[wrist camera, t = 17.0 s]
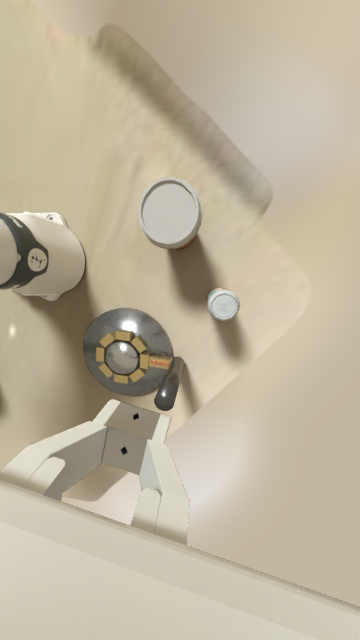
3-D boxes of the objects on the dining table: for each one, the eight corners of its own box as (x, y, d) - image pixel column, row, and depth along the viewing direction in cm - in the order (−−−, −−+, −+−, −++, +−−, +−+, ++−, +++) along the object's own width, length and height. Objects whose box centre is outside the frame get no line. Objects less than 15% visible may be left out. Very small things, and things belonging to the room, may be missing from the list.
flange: (81, 379, 48) (71, 387, 45) (91, 298, 44) (82, 299, 40) (161, 403, 47) (158, 413, 43) (181, 321, 42) (179, 324, 39)
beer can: (229, 311, 40) (239, 323, 29) (206, 310, 41) (207, 321, 29) (231, 287, 39) (242, 290, 28) (207, 287, 40) (208, 289, 28)
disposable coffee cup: (149, 247, 40) (126, 232, 28) (166, 198, 38) (148, 162, 26) (192, 264, 39) (186, 257, 28) (211, 216, 37) (213, 187, 26)
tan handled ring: (100, 374, 46) (55, 414, 32) (101, 326, 43) (52, 347, 29) (181, 388, 44) (170, 437, 30) (187, 338, 41) (178, 367, 27)
